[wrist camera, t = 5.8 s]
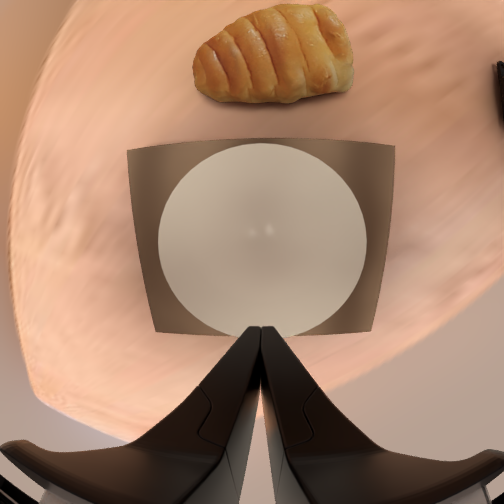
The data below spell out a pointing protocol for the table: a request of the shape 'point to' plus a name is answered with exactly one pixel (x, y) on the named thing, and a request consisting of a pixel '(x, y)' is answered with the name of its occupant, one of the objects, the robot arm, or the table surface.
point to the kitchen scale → (262, 233)
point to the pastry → (276, 56)
